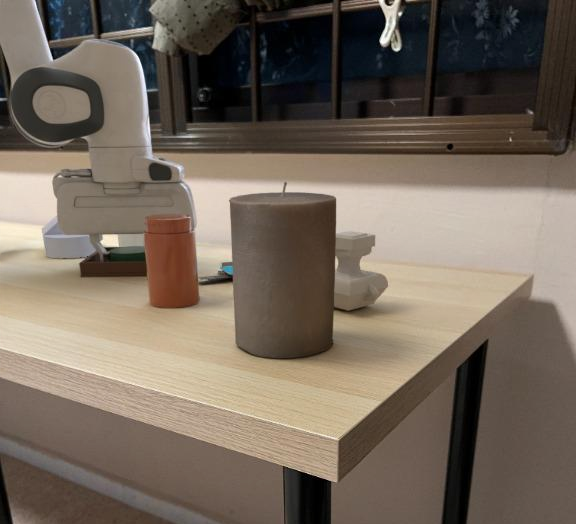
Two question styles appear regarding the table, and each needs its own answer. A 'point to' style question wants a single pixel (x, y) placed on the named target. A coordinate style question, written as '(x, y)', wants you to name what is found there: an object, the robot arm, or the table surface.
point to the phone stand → (221, 275)
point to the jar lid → (127, 254)
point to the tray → (110, 267)
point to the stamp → (355, 272)
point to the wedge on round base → (65, 243)
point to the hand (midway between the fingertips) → (132, 263)
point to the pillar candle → (283, 272)
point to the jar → (171, 260)
